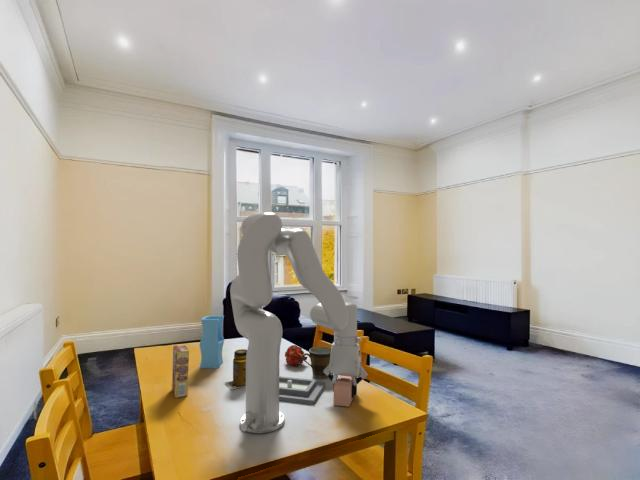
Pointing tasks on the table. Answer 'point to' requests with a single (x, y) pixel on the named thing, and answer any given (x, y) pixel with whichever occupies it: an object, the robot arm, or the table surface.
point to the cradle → (300, 389)
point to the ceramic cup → (319, 360)
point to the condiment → (238, 370)
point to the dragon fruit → (294, 355)
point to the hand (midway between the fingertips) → (344, 394)
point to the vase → (211, 342)
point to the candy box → (180, 371)
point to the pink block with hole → (343, 391)
